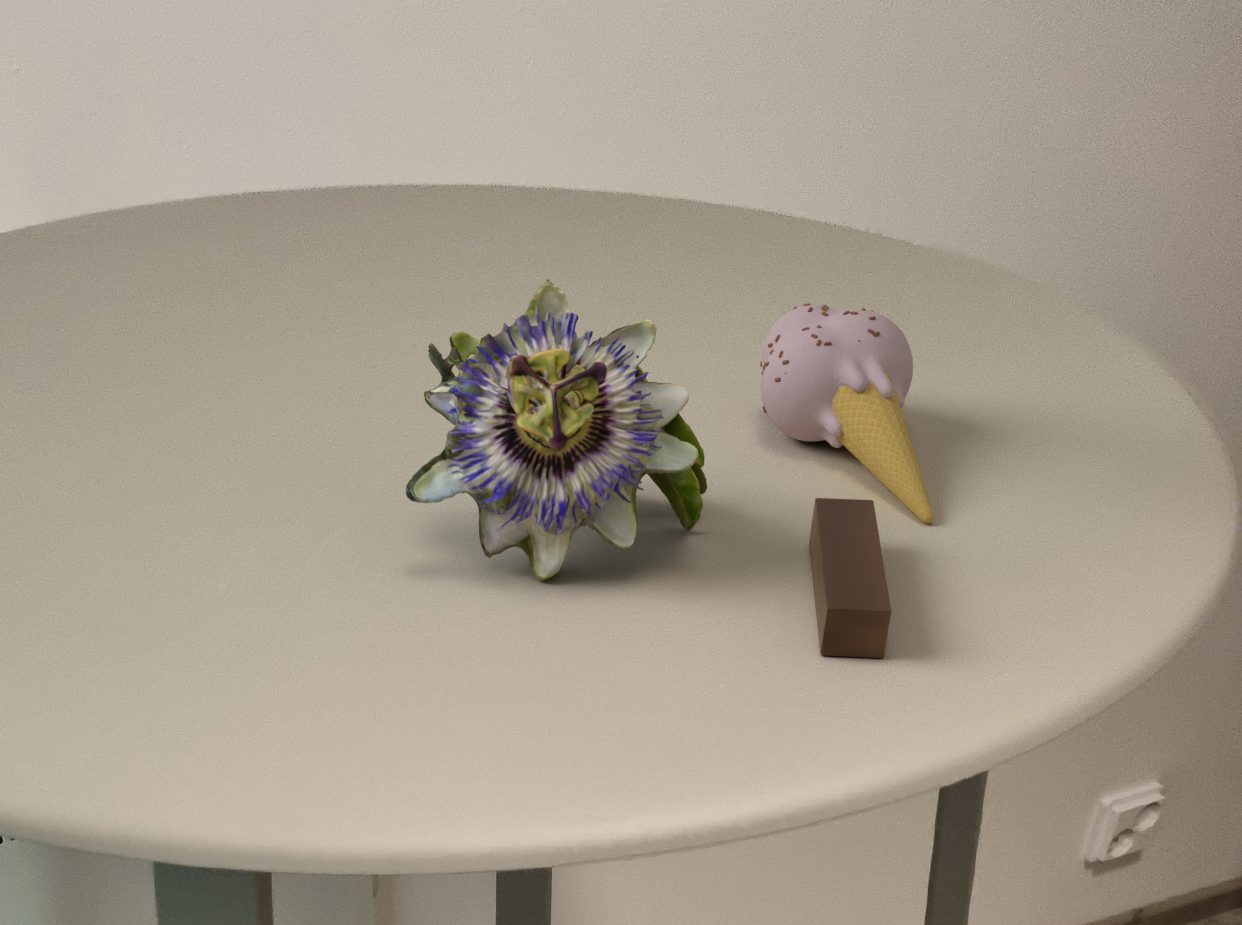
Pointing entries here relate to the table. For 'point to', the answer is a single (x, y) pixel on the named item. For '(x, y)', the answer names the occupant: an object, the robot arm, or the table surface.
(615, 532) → the passion flower
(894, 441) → the ice cream cone
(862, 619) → the rectangular block
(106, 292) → the table surface
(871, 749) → the table surface
